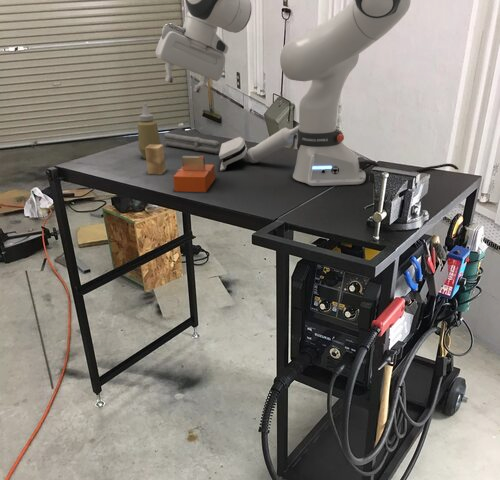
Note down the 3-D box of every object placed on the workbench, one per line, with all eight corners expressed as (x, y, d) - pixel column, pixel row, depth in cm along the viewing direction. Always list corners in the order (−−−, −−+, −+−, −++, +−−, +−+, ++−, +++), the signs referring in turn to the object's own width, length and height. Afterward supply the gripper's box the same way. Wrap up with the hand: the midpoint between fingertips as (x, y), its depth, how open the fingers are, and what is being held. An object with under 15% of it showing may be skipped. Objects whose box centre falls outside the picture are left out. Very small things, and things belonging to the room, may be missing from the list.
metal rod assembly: (164, 146, 206) (163, 133, 203) (169, 145, 208) (168, 131, 205) (216, 155, 193) (215, 141, 190) (221, 153, 194) (220, 139, 192)
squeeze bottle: (163, 154, 196) (157, 101, 187) (161, 160, 190) (155, 105, 180) (141, 154, 196) (134, 102, 187) (138, 160, 189) (131, 106, 180)
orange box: (184, 178, 170) (182, 163, 168) (217, 179, 169) (216, 164, 166) (172, 191, 160) (171, 175, 157) (207, 192, 158) (206, 176, 155)
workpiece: (166, 170, 178) (163, 144, 174) (161, 174, 174) (158, 148, 170) (152, 170, 179) (149, 144, 175) (148, 174, 175) (144, 147, 171)
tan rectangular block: (183, 170, 162) (181, 156, 159) (184, 169, 163) (183, 154, 161) (204, 171, 161) (203, 156, 158) (205, 169, 162) (204, 155, 160)
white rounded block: (220, 171, 176) (248, 159, 173) (214, 158, 173) (242, 145, 171) (223, 158, 190) (249, 147, 187) (217, 145, 187) (244, 133, 185)
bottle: (258, 158, 184) (315, 125, 167) (253, 166, 182) (310, 134, 164) (249, 146, 182) (305, 111, 165) (244, 155, 179) (300, 121, 162)
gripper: (170, 21, 136) (155, 78, 142) (233, 49, 150) (217, 100, 155) (159, 17, 140) (145, 72, 146) (221, 45, 154) (206, 94, 159)
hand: (182, 87), depth 151 cm, fingers open, 8 cm apart
